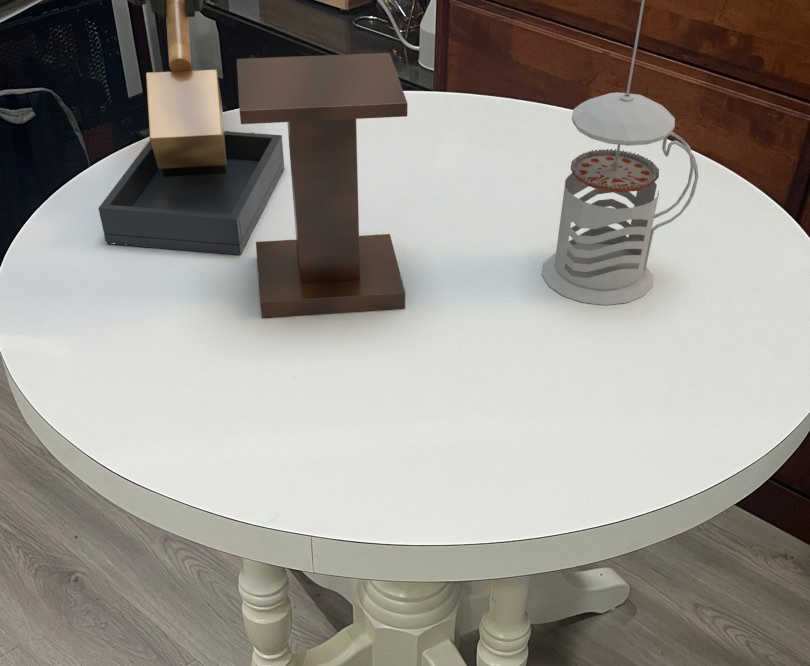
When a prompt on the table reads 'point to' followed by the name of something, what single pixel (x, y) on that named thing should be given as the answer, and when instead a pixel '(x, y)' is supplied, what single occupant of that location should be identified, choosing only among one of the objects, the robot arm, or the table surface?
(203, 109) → the brush
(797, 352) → the table surface
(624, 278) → the french press
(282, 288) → the stand
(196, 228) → the tray
